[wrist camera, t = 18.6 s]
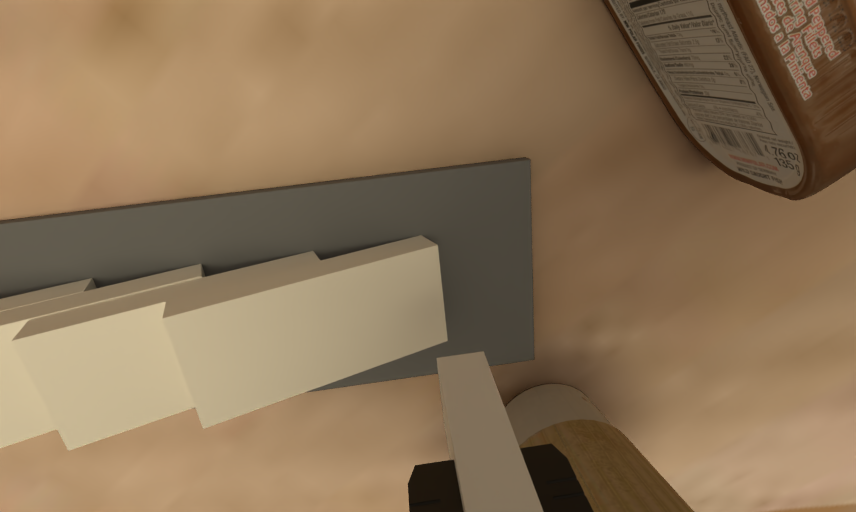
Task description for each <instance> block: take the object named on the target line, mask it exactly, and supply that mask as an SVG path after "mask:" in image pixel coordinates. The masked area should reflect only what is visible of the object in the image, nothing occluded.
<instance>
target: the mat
mask: <svg viewBox="0 0 856 512" xmlns="http://www.w3.org/2000/svg"><path fill="white" fill-rule="evenodd" d="M419 235H422V236H423V237H425V238H427V239H428V240H430V241H432V242H434V243H435V244H437V245H438V252H439V262H440V271H441V281H442V290H443V300H444V310H445V319H446V329H447V339H448V341H446V342H443V343H440V344H438V345H435V346H432V347H429V348H427V349H424V350H421V351H418V352H415V353H413V354H410V355H407V356H404V357H402V358H399V359H396V360H393V361H391V362H388V363H385V364H382V365H379V366H377V367H374V368H371V369H368V370H366V371H363V372H360V373H357V374H354V375H352V376H349V377H346V378H343V379H341V380H338V381H335V382H332V383H329V384H327V385H324V386H321V387H318V388H316V389H313V390H310V391H307V392H312V391H319V390H326V389H333V388H340V387H347V386H354V385H361V384H368V383H375V382H382V381H389V380H396V379H403V378H410V377H417V376H424V375H431V374H438V367H437V358H440V357H447V356H454V355H461V354H468V353H475V352H482V351H484V354H485V356H486V359H487V362H488V365H489V366H494V365H501V364H508V363H515V362H522V361H529V360H534V319H533V269H532V218H531V168H530V159H528V158H526V157H524V158H516V159H507V160H499V161H491V162H483V163H474V164H466V165H458V166H450V167H441V168H433V169H425V170H417V171H408V172H400V173H392V174H384V175H375V176H367V177H359V178H350V179H342V180H334V181H326V182H317V183H309V184H301V185H293V186H284V187H276V188H268V189H260V190H251V191H243V192H235V193H227V194H218V195H210V196H202V197H193V198H185V199H177V200H169V201H160V202H152V203H144V204H136V205H127V206H119V207H111V208H103V209H94V210H86V211H78V212H70V213H61V214H53V215H45V216H37V217H28V218H20V219H12V220H3V221H0V299H2V298H7V297H11V296H15V295H20V294H24V293H29V292H33V291H37V290H42V289H46V288H50V287H55V286H59V285H64V284H68V283H72V282H77V281H81V280H85V279H90V278H92V279H93V281H94V283H95V286H96V288H101V287H105V286H109V285H114V284H118V283H122V282H126V281H130V280H135V279H139V278H143V277H147V276H151V275H155V274H160V273H164V272H168V271H172V270H176V269H181V268H185V267H189V266H193V265H197V264H201V265H202V268H203V271H204V274H205V277H207V276H211V275H215V274H219V273H224V272H228V271H232V270H236V269H240V268H244V267H248V266H252V265H256V264H261V263H265V262H269V261H273V260H277V259H281V258H285V257H289V256H293V255H298V254H302V253H306V252H310V251H314V253H315V254H316V255H317V257H318V258H319V259H320V260H325V259H329V258H333V257H337V256H341V255H344V254H348V253H352V252H356V251H360V250H364V249H368V248H372V247H376V246H380V245H384V244H388V243H392V242H396V241H400V240H404V239H408V238H412V237H416V236H419ZM192 409H193V408H192Z"/></svg>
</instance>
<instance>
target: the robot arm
mask: <svg viewBox="0 0 856 512" xmlns="http://www.w3.org/2000/svg"><path fill="white" fill-rule="evenodd" d="M437 367H438V375H439V384H440V393H441V402H442V410H443V419H444V427H445V433H446V439H447V445H448V450H449V456H450V460H448V461H441V462H435V463H428V464H421V465H415V467H414V470H413V472H412V475H411V477H410V480H409V483H408V493H409V511H410V512H594V511H593V509H592V507H591V505H590V503H589V501H588V499H587V497H586V496H585V495H584V491H583V489H582V487H581V485H580V483H579V481H578V480H577V478H576V475H575V473H574V471H573V469H572V467H571V465H570V462H569V460H568V458H567V457H566V456H565V455H564V454H562V453H561V452H560V451H559V450H558V449H557V448H556V447H555V446H554V445H553V444H552V443H551V444H545V445H538V446H531V447H525V448H519V445H518V442H517V439H516V437H515V434H514V431H513V429H512V426H511V423H510V421H509V418H508V415H507V413H506V410H505V407H504V405H503V402H502V399H501V397H500V394H499V391H498V389H497V386H496V383H495V381H494V378H493V375H492V373H491V370H490V367H489V365H488V362H487V359H486V356H485V354H484V351H482V352H475V353H468V354H461V355H454V356H447V357H440V358H437Z"/></svg>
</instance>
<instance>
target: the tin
mask: <svg viewBox="0 0 856 512" xmlns="http://www.w3.org/2000/svg"><path fill="white" fill-rule="evenodd" d="M604 2H605V4H606V5H607V7H608V9H609V11H610V12H611V14H612V16H613V17H614V19H615V21H616V23H617V24H618V26H619V28H620V30H621V31H622V33H623V35H624V37H625V38H626V40H627V42H628V43H629V45H630V47H631V49H632V50H633V52H634V54H635V55H636V57H637V59H638V60H639V62H640V64H641V66H642V67H643V69H644V71H645V72H646V74H647V76H648V77H649V79H650V81H651V82H652V84H653V86H654V88H655V89H656V91H657V93H658V94H659V96H660V97H661V99H662V101H663V102H664V104H665V106H666V107H667V109H668V111H669V112H670V114H671V116H672V117H673V119H674V120H675V122H676V123H677V125H678V126H679V127H680V129H681V130H682V131H683V133H684V134H685V135H686V136H687V138H688V139H689V140H690V141H691V142H692V143H693V144H694V146H695V147H696V148H697V149H698V150H699V151H700V152H701V153H702V154H703V155H704V156H705V157H706V158H707V159H709V160H710V161H711V162H712V163H713V164H714V165H716V166H717V167H718V168H720V169H721V170H722V171H724V172H725V173H726V174H728V175H729V176H731V177H733V178H734V179H736V180H739V181H741V182H744V183H747V184H750V185H752V186H754V187H757V188H759V189H761V190H763V191H766V192H769V193H772V194H775V195H778V196H782V197H785V198H788V199H790V200H800V199H804V198H807V197H809V196H812V195H814V194H816V193H817V192H819V191H821V190H823V189H824V188H826V187H828V186H829V185H831V184H832V183H834V182H836V181H837V180H839V179H840V178H842V177H843V176H845V175H846V174H847V173H849V172H851V171H852V170H854V169H855V168H856V0H604Z"/></svg>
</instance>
